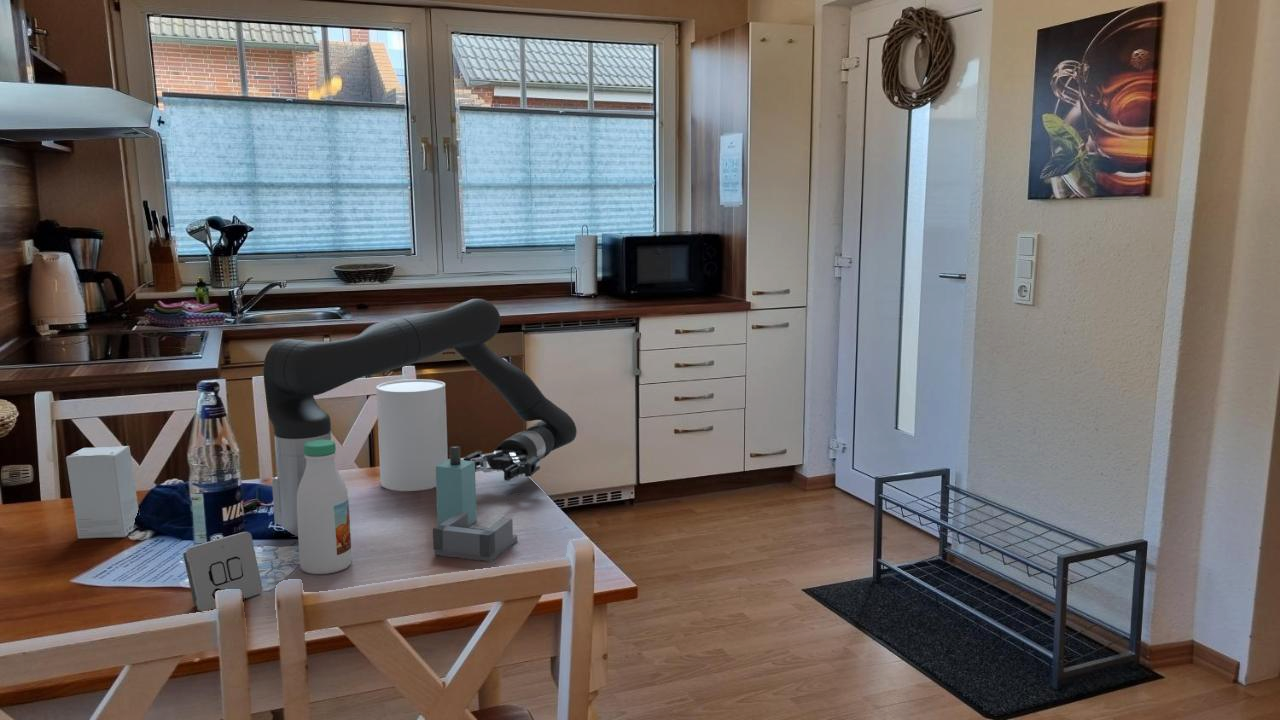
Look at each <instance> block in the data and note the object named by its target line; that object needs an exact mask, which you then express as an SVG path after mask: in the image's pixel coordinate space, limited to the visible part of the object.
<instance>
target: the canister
mask: <svg viewBox="0 0 1280 720" xmlns="http://www.w3.org/2000/svg"><path fill="white" fill-rule="evenodd" d="M375 388H376V406H377V407H376V408H377V409H376V410H377V411H376V412H377V427H378V430H377V431H378V432H377V433H378V453H379V455H378V457H379V458H378V459H379V475H380V478H379V479H380V486H381V487H383V488H385V489H387V490H391V491H399V492H413V491H414V492H415V491H424V490H430V489H434V487H435V488H436V466H438V465H439V464H441V463H443V462H445V461H447V460H449V458H448V456H449V455H448V453H449V452H448V430H447V429H448V427H447V399H446V398H447V396H446V382H444V381H441V380H436V379H424V378H423V379H422V378H421V379H420V378H416V379H411V378H409V379H397V380H391V381H386V382H382V383H379V384H378V385H376V386H375Z"/></svg>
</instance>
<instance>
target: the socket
mask: <svg viewBox="0 0 1280 720" xmlns="http://www.w3.org/2000/svg"><path fill="white" fill-rule="evenodd" d="M513 525H514V523H513V518H512V517H502V518H500V519H499V520H497V521H496V522H494V523H493V524H492V525H490V526H489V527H488V526H487V527H486V526H478V525H477V526H476V525H470V526H468V513H460V512H458V513H457V514H455V515H454V516H452V517H451V518H449V519H448V520H446V521H444V522H443V523H441V524H440V525H438V524H437V525H436V526H435V527H434V528H432V537H433V538H432V539H433V544H432V545H433V550H434V555H435V556H440V557H441V556H442V557H449V558H456V557H458V558H457V559H464V558H466V560H472V559H475V560H474V561H480V560H482V562H488V563H489V562H490V563H491V562H492V561H494V560H495V559H496V558H498V556H500V555H501V554H503V553H504V552H505V551H506V550H507V549H509V548H510V547H511V546H513V545H514V544H515V543H517V541H518V534H514V532H513V530H514V526H513ZM493 559H494V560H493ZM483 560H484V561H483Z"/></svg>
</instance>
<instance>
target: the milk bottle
mask: <svg viewBox="0 0 1280 720" xmlns="http://www.w3.org/2000/svg"><path fill="white" fill-rule="evenodd" d="M336 447H337V446H336V442H335V441H334V440H332V439H331V440H314V441H310V442H307V443H305V444H304V453H305V458H306V468H305V471H304V474H303V477H302V479H301V482H300V484H299V488H298V492H297V521H298V536H297V538H298V550H299V551H298V554H299V555H298V556H299V567H300V569H301V570H302V571H303V572H304V573H306V574H311V575H327V574H333V573H337V572H338V573H339V572H340V571H343V570H345V569H347V568H348V567H350V565H351V563H352V562H353V561H352V559H353V558H352V538H351V537H352V536H351V535H352V534H351V519H350V503H349V493H348V488H347V486H346V482H345V480H344V479H343V477H342V474H341V473H340V471H339V468H338V467H337V464H336V458H335V456H336V455H337V453H336V452H337V449H336Z"/></svg>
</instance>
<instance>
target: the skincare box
mask: <svg viewBox="0 0 1280 720" xmlns="http://www.w3.org/2000/svg"><path fill="white" fill-rule="evenodd" d="M131 455H132V454H131V449H130V445H123V446H122V445H121V446H104V447H103V446H102V447H101V446H100V447H83V448H81V449H79V450H77V451H74V452H73V453H71V454H70V455H67V456H66V457H65V460H66V466H67V467H66V468H67V473H68V481H69V486H70V493H71V494H70V495H71V500H72V506H73V512H74V519H75V526H76V532H77V539H81V540H82V539H97V538H98V539H101V538H102V539H104V538H105V539H106V538H126V537H127V536H129V534H128V533H129V532H130V530H131V528H132V526H133V525H134V523H135V518H136V516H137V513H138V510H139V504H138V503H139V502H138V497H137V490H136V489H137V488H136V484H135V476H134V469H133V462H132V456H131ZM139 511H140V510H139Z"/></svg>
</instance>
